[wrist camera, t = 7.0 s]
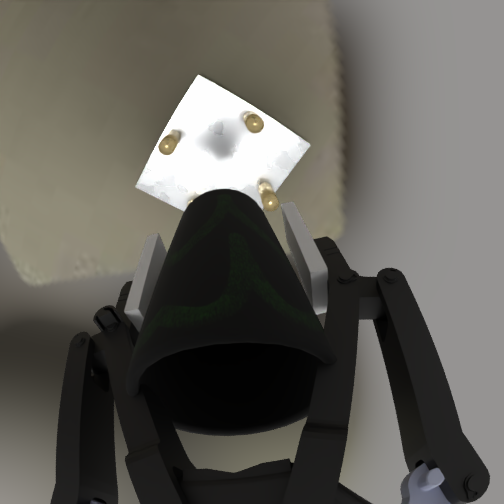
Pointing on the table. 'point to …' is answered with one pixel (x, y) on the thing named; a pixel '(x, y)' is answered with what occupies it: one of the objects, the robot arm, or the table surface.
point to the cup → (228, 325)
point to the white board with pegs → (220, 150)
